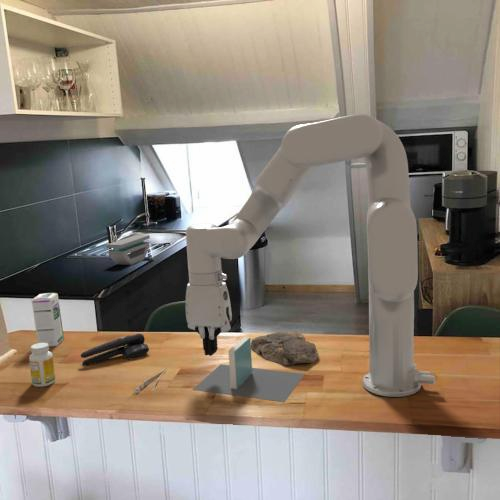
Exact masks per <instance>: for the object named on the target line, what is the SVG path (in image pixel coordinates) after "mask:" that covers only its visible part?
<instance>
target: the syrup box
mask: <svg viewBox="0 0 500 500" xmlns="http://www.w3.org/2000/svg"><path fill="white" fill-rule="evenodd" d="M59 300H60V299H59V294H58V293H57V292H46V293H45V292H44V293H39V294H38V295H37V296H35V297H33V298H32V299H31V305H32V312H33V319H34V325H35V333H36V339H37V343H48V346H49V347H58V346H59V344H61V342H63V340H64V339H65V336H64V330H63V321H62V314H61V309H60V301H59Z"/></svg>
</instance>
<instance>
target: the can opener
mask: <svg viewBox="0 0 500 500" xmlns="http://www.w3.org/2000/svg"><path fill="white" fill-rule="evenodd" d="M149 351H150V349H149V346H148V344H146V343H145V336H144V335H143V333H136V334H132V335H126V336H125V337H124V336H120V337H119V338H117V339H114V340H111V341H108V342H105V343H103V344H100V345H98V346H95V347H92V348H90V349H88V350H85V351H84V352H81V354H80V358H83V359H84V360H83V361H82V362H81V363H82V364H81V365H83V366H85V365H87V366H90V365H89V364H92V365H95V364H94V363H96V364H98V362H99V363H101V361H102V362H104V361H107V360H108V359H111V358H113V357H116V356H119V355H122V356H123V357H125V359H128V360H133V359H137V358H140V357H142V356H144V355H146V354H147V353H149ZM86 358H87V359H86Z"/></svg>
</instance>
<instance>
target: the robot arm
mask: <svg viewBox="0 0 500 500" xmlns="http://www.w3.org/2000/svg"><path fill="white" fill-rule="evenodd" d="M407 157H408V156H407V153H406V150H405V147H404V144H403V143H402V141H401V139H400V137H399V136H398V135H397V134H396V132H395V131H394V130H393V129H392V128H391V127H389V126H388V125H387V124H385V123H384V122H382V121H381V120H378V119H377V118H375V117H374V116H373V115H370V114H366V113H355V114H349V115H346V116H345V115H344V116H340V117H336V118H332V119H326V120H322V121H316V122H311V123H304V124H298V125H295V126H292V127H291V128H290V129H289V130H287V131H286V133H285V134H284V136H283V138H282V139H281V144H280V146H279V148H278V149H277V151H276V152H275V154H273V156H272V158H271V159H270V160H269V162H268V163H267V164H266V166H265V167H264V168H263V170H261V172H260V174H259V175H258V176H257V178H256V180H255V182H254V185H253V189H252V192H251V194H250V195H249V197H248V199H247V201H246V202H245V203H244V204H243V206H242V207H241V209H240V210H239V211H238V213H237V214H236V216H234V218H233V220H231V222H229V223H228V224H227V225H224V226H221V227H219V226H217V225H216V224H213V223H200V224H199V223H197V224H193V225H190V226H188V227H187V228H186V230H185V243H186V253H187V254H186V255H187V268H188V283H187V285H186V291H185V317H186V318H185V319H186V322H187V328H188V329H190V330H193V331H196V332H197V333H198V334H199V336H200V337H199V338H201V339H202V348H203V351H204V356H210V357H212V356H213V355H214V354H215V353H216V352H217V351H218V336H219V335H220V334H221V333H227V332H229V331H231V324H230V322H231V321H232V319H233V314H232V307H231V306H232V305H231V299H230V298H231V297H230V293H229V290H228V287H227V283H226V282H225V281H227V279H228V275H227V273H223V269H222V259H227V260H228V259H229V260H235V259H236V260H237V259H239V258H242V257H244V256H245V255H246V254H247V253H248V252H249V251H250V249H252V247H253V246H254V245H256V243H257V242H258V240H259V238H260V237H261V236H262V234H264V232H265V231H266V229H267V228H268V227H269V226H270V224H271V223H272V222H273V221H274V219H275V218H276V216H277V215H278V214H279V213H280V211H282V210H283V209H284V208H285V207H286V206H287V204H288V203H289V201H290V200H291V199H292V198H293V196H294V195H295V194H296V192H297V191H298V189H299V188H300V187H301V185H302V184H303V183H304V182H305V180H306V179H307V177H308V176H309V175H310V174H311V172H312V171H313V170H314V168H315V167H319V166H326V165H331V164H336V163H341V162H347V161H352V160H353V161H354V160H358V159H362V160H363V162H364V165H365V168H366V183H367V201H368V202H367V206H368V207H367V214H366V237H367V239H366V241H367V263H368V266H367V275H368V276H367V278H368V281H367V282H368V336H369V337H368V338H369V339H368V341H369V342H368V343H369V345H368V347H369V350H368V352H369V354H368V355H369V372H368V373H366V374H365V375H364V376H363V378H362V385H363V387H364V389H365V390H367V391H368V392H370V393H372V394H375V395H379V396H383V397H387V398H388V397H389V398H390V397H391V398H399V397H407V396H411V395H414V394H416V393H417V392H419V391H420V390H421V389H422V388H421V387H422V384H426V385H435V382H436V381H435V380H436V379H435V378H436V377H435V375H431V371H427V370H426V371H425V370H424V371H422V370H420V369H417V363H414V361H415V360H414V358H415V357H414V351H415V350H414V349H415V348H414V344H415V343H414V342H415V341H414V339H415V338H414V334H415V331H414V329H415V323H414V322H415V321H414V320H415V290H416V288H417V285H418V278H419V277H418V276H419V263H418V260H419V259H418V258H419V257H418V254H419V253H418V226H417V219H416V216H415V213H414V212H413V210H412V205H411V194H410V193H411V192H410V179H409V178H410V176H409V163H408V158H407ZM221 258H222V259H221Z"/></svg>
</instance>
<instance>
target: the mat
mask: <svg viewBox="0 0 500 500" xmlns="http://www.w3.org/2000/svg"><path fill="white" fill-rule="evenodd" d="M305 374H306V373H299V372H292V371H282V370H275V369H273V370H272V369H265V368H255V367H252V374H251V375H250V376H249V377H248V378H247V379H246V380H245V382H244V383H243V384H242V385H241V386H240V387H239V388H238V389H233V388H231V382H230V367H229V364H221V363H220V364H219V365H218V366H217V367H216V368H214V370H213V371H211V372H210V373H209V374H208V375H207V376H206V377H204V378H203V380H201V381H200V382H199V383H198V384H197V385H196V386H195V387H193V389H192V390H193V391H198V392H199V391H200V392H207V393H213V394H214V393H215V394H221V395H222V394H223V395H230V396H236V397H243V398H244V397H245V398H251V399H257V400H259V399H260V400H266V401H272V402H281V403H285V402H286V401H287V399H288V398H289V396H290V395H291V394H292V393H293V391H294V390H295V388H296V387H297V385H299V383H300V381H301V380H302V379H303V377H304V376H305Z"/></svg>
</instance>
